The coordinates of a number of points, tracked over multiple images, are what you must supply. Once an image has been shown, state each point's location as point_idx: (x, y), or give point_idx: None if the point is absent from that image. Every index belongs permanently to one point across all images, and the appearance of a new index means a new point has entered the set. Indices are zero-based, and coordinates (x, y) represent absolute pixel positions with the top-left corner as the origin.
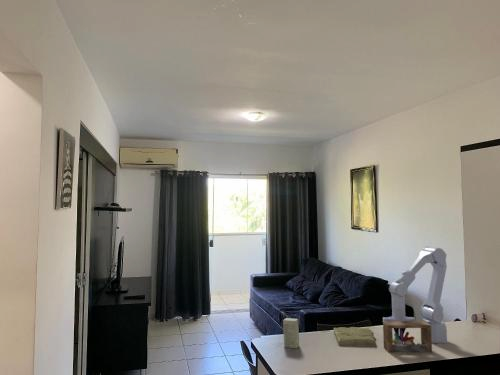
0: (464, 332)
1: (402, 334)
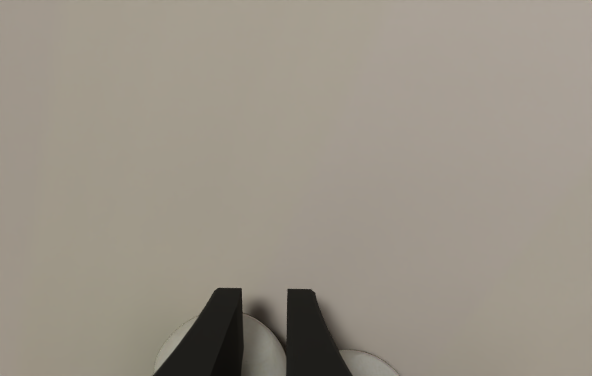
0: None
1: None
